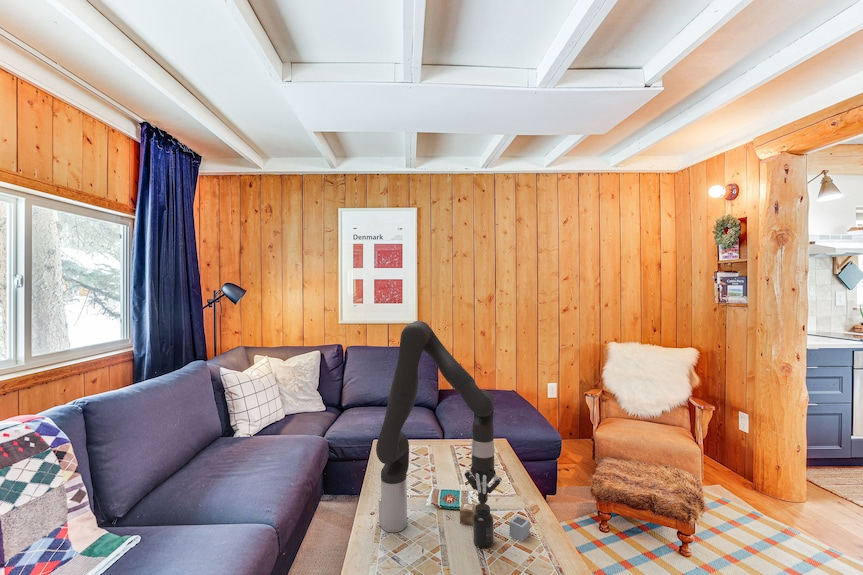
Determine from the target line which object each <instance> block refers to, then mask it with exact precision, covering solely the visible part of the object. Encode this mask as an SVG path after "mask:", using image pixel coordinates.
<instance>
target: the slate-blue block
mask: <svg viewBox="0 0 863 575" xmlns="http://www.w3.org/2000/svg"><path fill="white" fill-rule="evenodd" d="M530 525H531V524H530V519H527V518H525V517H523V516H520V515H518V514H516V515H515V516H514V517H512V519H511V520H509V536H510V537H512V538H514V539H516V540H518V541H520V542H522V543H523V542H524V541H525V540H526V539H527V538H528V537H529V536H530V535H531V534H530V531H531V530H530V529H531V527H530Z"/></svg>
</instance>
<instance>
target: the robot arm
mask: <svg viewBox="0 0 863 575" xmlns="http://www.w3.org/2000/svg"><path fill="white" fill-rule="evenodd" d="M398 348H399V349H398V356H397V357H398V358H397V363H396V366H395V371H394V374H393V378H392V379H393V380H392V383H391V387H390V389H389V390H390V391H389V394H388V402H387V406H386V409H385V414H384V418H383V419H384V420H383V423H382V426H381V429H380V433H379V436H378V439H377V441H376V445H375V448H376V449H375V452H376V456H377V458H378V459H377V460H379V462H381V463H382V464H384V465H383V466H382V468H381V470H380V496H381V497H380V498H379V499H378V526H379V527H381V528H382V529H383V531H385V532H387V533H398V532H399V533H400V532H402V531H403V530H405V529H406V527H407V526H408V494H407V493H408V492H407V491H408V490H407V487H408V486H407V484H408V483H407V480H408V479H407V475H408V474H407V473H408V470H409V467H410V466H409V465H410V443H409V439H408V437H407V435H406V434H405V432H403V431H402V430H403V427H404V425H405V423H406V422H407V420H408V418H409V416H410V414H411V412H412V410H413V408H414V405H415V402H416V399H417V396H418V389H419V373H418V372H419V364H420V360H421V357H422V354H423V351H424V352H425V353H426V354H428V356H429V357H430V358H431V359H432V361H433V362H434V363H435V365H436V366H437V368H438V370H439V372H440V374H441V375H442V377H443V378H444V379H445V380H446V382H447V383H448V384H449V385H450V386H451V387H452V388H453V389H454V390H455V391H456V392H457V393H458V394H459V395H460V396H461V398H462V400H463V401H464V402H465V404H466V405H467V406H468V408H469V409H470V410H471V412H472V413H473V422H472V429H471V430H472V432H471V434H472V435H471V436H472V437H471V438H472V439H471V440H472V441H471V467H470V469H467V470H466V472H465V473H464V477H465V478H466V480H467V482H468V483H469V485H470V486H471V488H472V489H473V490H475V491H477V493H478V494H477V495H478V498H477V500H478V502H479V504H487V502H488V500H489V498H488V494H492V492H493V491H494V490H496V488H497V487H498V486H499V485H500V483H501V482H502V480H503V479H502V477H501V476H500V477H499V476H498V475H497V474H496V470H495V452H496V451H495V442H494V439H495V438H494V430H495V429H494V411H495V410H494V409H495V399H494V396H493V395H492V393H491V392H490V391H489V390H486V389H481V388H479V386H478V385H477V384H476V380H475V379H474V378H473V376H472V375H471V374H470V373H469V372H468V370H466V369H465V368H464V366H462V365H461V364H460V363H459V362H458V361H457V359H455V358H454V357H453V355H452V354H451V353H450V351H448V350H447V348H446V347H445V346H444V345H443V343H442V342H441V340H440V339H439V338H438V337H437V334H435V332H434V330H433V329H432V327H431V326H430V325H429V324H428V323H427V322H425V321H423V320H416V321H413V322H410V323H409V324H407V325H406V326H405V327H404V328H403V329H402V331H401V333H400V341H399V347H398ZM491 481H492V482H493V483H492V484H491V485H489V484H490V482H491Z"/></svg>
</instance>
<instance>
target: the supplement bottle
mask: <svg viewBox="0 0 863 575" xmlns="http://www.w3.org/2000/svg"><path fill="white" fill-rule="evenodd" d="M490 507H491V506H490V505H489V504H487V503H485V504H480V503H478V504H476V513H475V514H474V515H473V526H472V531H473V532H472V534H473V536H472V538H473V543H474V545H475V546H476V547H478V548H481V549H488V548H491V547H492V546H493V545H494V541H495V540H494V539H495V538H494V537H495V536H494V517H493V515H492V513H491V508H490Z"/></svg>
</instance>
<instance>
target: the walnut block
mask: <svg viewBox="0 0 863 575" xmlns="http://www.w3.org/2000/svg"><path fill="white" fill-rule="evenodd" d="M476 505H477V504H475V503H468V502H462V504H461V506H460V509H459V524H461V523H462V525H466V524H467V525H468V526H472V525H473V515H474V514H475V513H476Z"/></svg>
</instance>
